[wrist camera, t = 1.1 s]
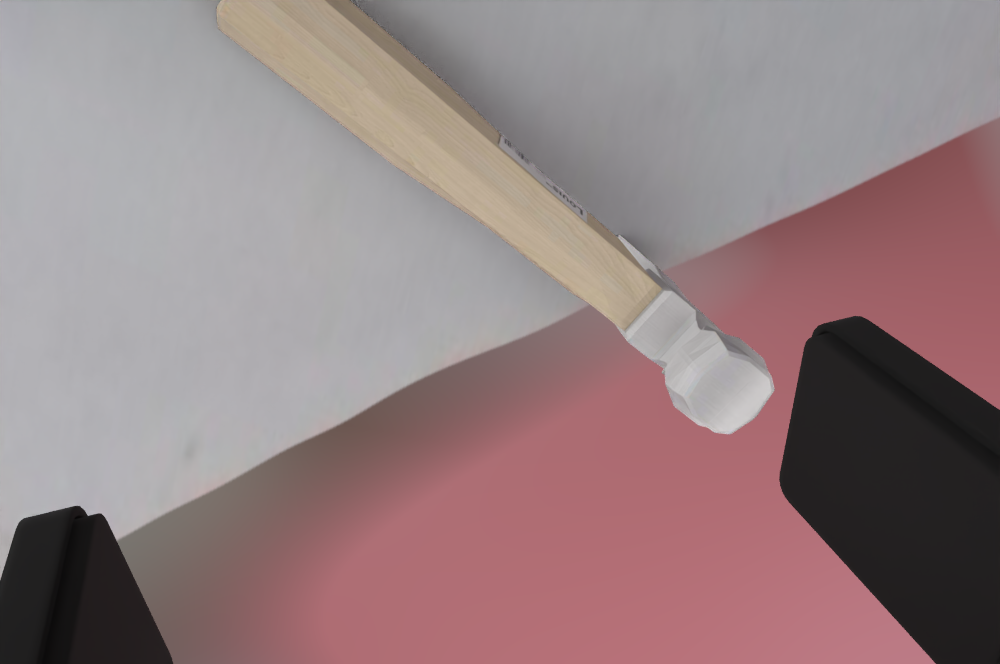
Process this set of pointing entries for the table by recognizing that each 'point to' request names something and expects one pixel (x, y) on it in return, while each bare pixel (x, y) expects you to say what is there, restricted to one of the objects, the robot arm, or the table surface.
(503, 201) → the hammer
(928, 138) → the table surface
